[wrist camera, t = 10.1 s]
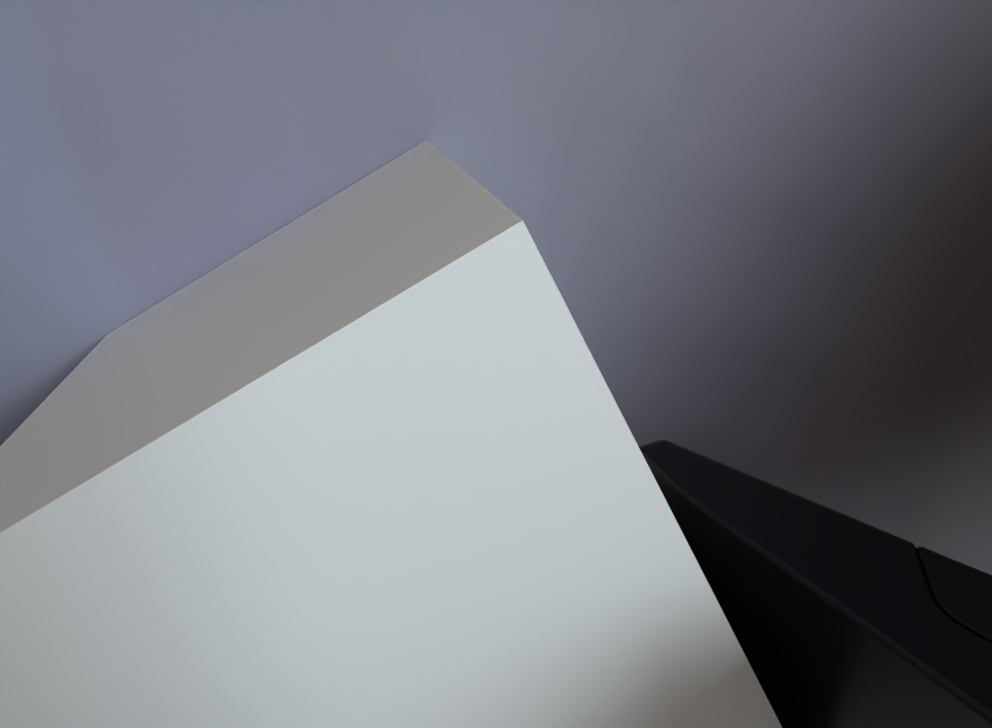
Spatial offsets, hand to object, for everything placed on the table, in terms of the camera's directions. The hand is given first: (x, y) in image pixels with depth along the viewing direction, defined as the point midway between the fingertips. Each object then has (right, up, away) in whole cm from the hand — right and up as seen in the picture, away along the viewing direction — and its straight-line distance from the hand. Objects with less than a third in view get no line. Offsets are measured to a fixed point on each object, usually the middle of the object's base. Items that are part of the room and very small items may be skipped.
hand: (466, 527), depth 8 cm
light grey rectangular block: (0, 0, +1) cm, 1 cm away
